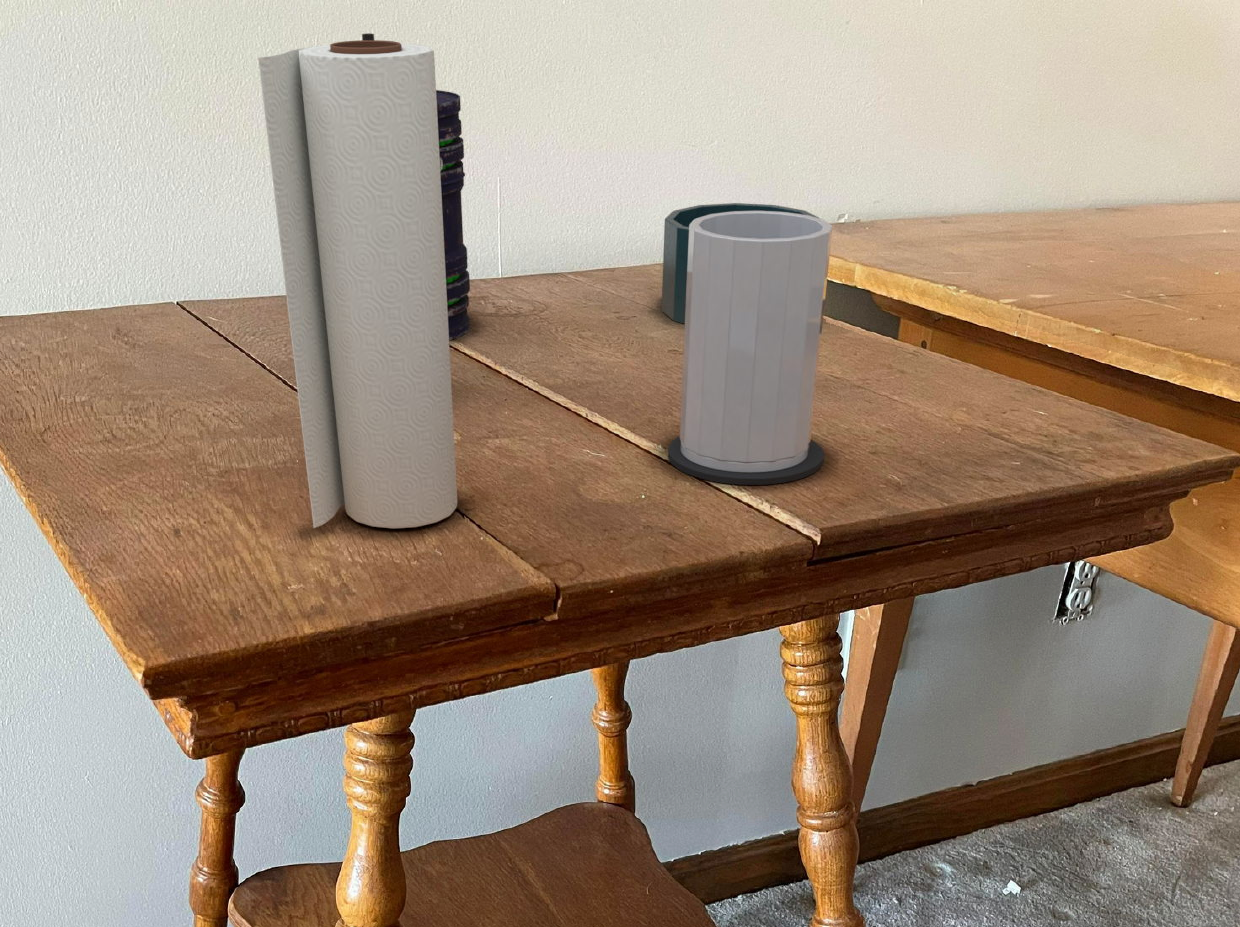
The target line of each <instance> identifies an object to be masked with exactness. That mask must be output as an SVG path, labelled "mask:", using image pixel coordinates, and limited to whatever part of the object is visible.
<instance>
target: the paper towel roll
mask: <svg viewBox="0 0 1240 927" xmlns="http://www.w3.org/2000/svg"><path fill="white" fill-rule="evenodd" d="M257 59H258V67H259V75H260V76H259V77H260V84H261V85H260V86H261V92H262V101H263V109H264V118H265V127H266V135H267V144H268V151H269V161H270V169H271V170H270V171H271V178H272V186H273V195H274V203H275V211H276V221H277V229H278V237H279V238H278V239H279V246H280V254H281V262H282V271H283V279H284V289H285V298H286V304H287V305H286V306H287V315H288V321H289V331H290V340H291V348H292V355H293V356H292V358H293V365H294V373H295V381H296V389H297V390H296V391H297V400H298V406H299V415H300V424H301V432H302V440H303V449H304V457H305V458H304V459H305V466H306V475H307V484H308V491H309V492H308V493H309V500H310V510H311V517H312V526H313V527H312V528H313V529H316V528H318V527H321V526H323V525H324V524H326V523H328V522H329V521H330V520H331V519H333V518H334V517H335V516H336V514H337V512H338V511H339V510H340V509H341V507H343V506H344V509H345V512H346V515H347V516H349V518H351V519H352V520H354V521H355V522H357V523H360V524H364V525H366V526H369V527H374V528H375V527H376V528H384V529H385V528H386V529H406V528H418V527H423V526H427V525H431V524H436V523H438V522H440V521H442V520H444V519H446V518H448V517H450V516H451V515H452V514H453V513H454V511H455V510H456V509H457V507H458V487H457V469H456V468H457V467H456V466H457V465H456V449H455V447H456V446H455V430H454V429H455V428H454V410H453V409H454V408H453V390H452V389H453V388H452V372H451V369H452V368H451V353H450V350H451V349H450V340H449V330H448V311H447V292H446V272H445V253H444V234H443V215H442V195H441V176H440V157H439V138H438V118H437V99H436V90H437V83H436V82H437V81H436V63H435V62H436V61H435V52H434V48H433V47H432V46H427V45H421V44H414V43H411V44H410V43H401V42H399V41H394V40H381V39H380V40H377V39H376V40H375V39H374V40H345V41H337V42H333V43H330V44H323V45H317V46H316V45H315V46H309V47H302V48H295V49H291V50H287V51H285V52H282V53H279V54H275V55H273V54H272V55H270V56H269V55H268V56H260V57H258V58H257Z"/></svg>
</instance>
